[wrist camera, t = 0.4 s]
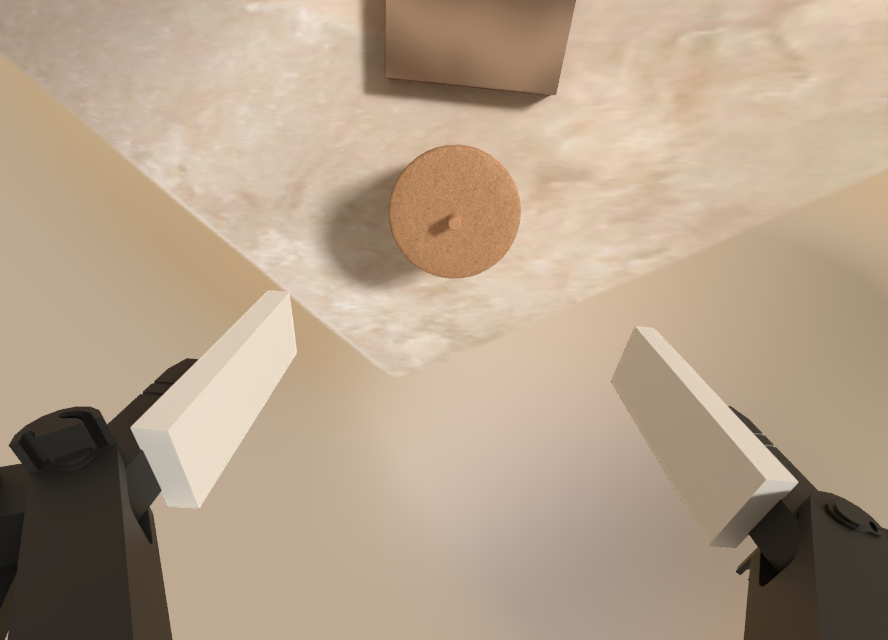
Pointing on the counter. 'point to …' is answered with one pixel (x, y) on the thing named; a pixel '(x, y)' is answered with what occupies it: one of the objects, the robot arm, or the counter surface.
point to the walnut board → (478, 42)
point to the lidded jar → (454, 211)
